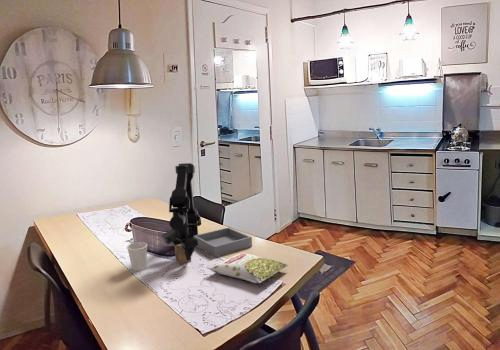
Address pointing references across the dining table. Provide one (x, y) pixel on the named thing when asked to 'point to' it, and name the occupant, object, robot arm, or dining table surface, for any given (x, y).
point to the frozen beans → (248, 267)
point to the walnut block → (180, 254)
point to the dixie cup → (138, 255)
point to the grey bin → (223, 241)
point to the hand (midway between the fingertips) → (183, 257)
